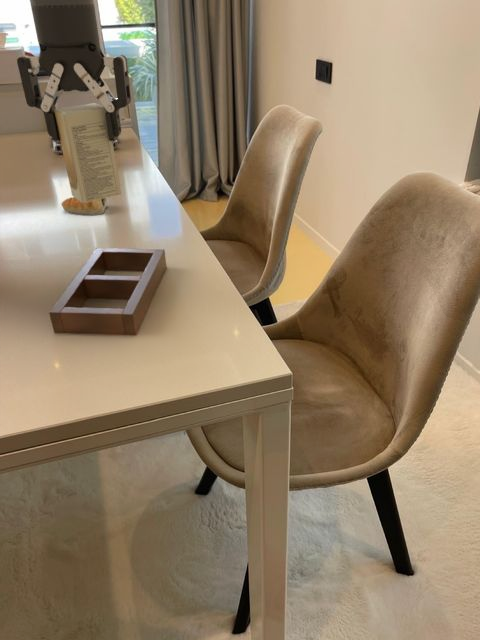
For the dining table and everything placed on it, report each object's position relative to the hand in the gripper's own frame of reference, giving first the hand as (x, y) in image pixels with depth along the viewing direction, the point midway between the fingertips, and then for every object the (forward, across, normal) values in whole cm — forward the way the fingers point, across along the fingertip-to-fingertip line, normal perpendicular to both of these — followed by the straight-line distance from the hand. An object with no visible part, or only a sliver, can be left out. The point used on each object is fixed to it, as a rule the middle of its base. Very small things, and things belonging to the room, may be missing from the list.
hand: (86, 139), depth 78 cm
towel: (+24, +32, -92) cm, 100 cm away
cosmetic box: (+8, 0, 0) cm, 8 cm away
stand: (+24, -2, +5) cm, 24 cm away
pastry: (+24, +15, -37) cm, 47 cm away
